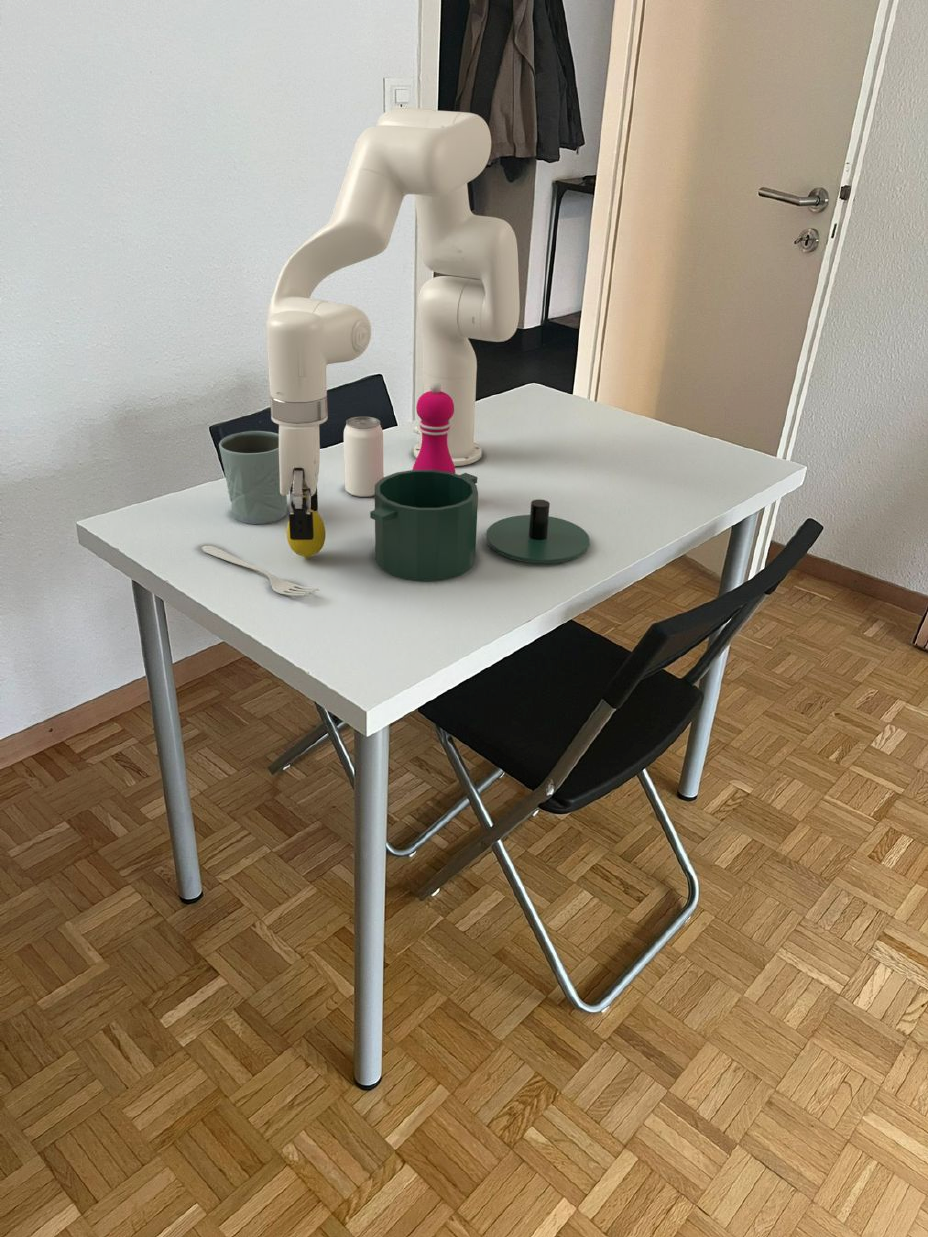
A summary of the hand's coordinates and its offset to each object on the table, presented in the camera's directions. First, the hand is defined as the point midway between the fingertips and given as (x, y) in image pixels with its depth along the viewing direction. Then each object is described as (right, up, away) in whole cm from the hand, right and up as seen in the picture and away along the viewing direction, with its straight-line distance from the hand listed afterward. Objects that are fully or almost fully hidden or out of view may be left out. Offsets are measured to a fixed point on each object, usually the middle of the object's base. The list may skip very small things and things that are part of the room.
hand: (304, 524), depth 140 cm
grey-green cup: (-10, +3, +16) cm, 19 cm away
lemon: (0, -5, +3) cm, 6 cm away
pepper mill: (+18, +6, +23) cm, 30 cm away
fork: (-7, -7, -2) cm, 10 cm away
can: (+6, +8, +25) cm, 27 cm away
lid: (+34, -1, +10) cm, 36 cm away
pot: (+17, -5, +4) cm, 18 cm away
